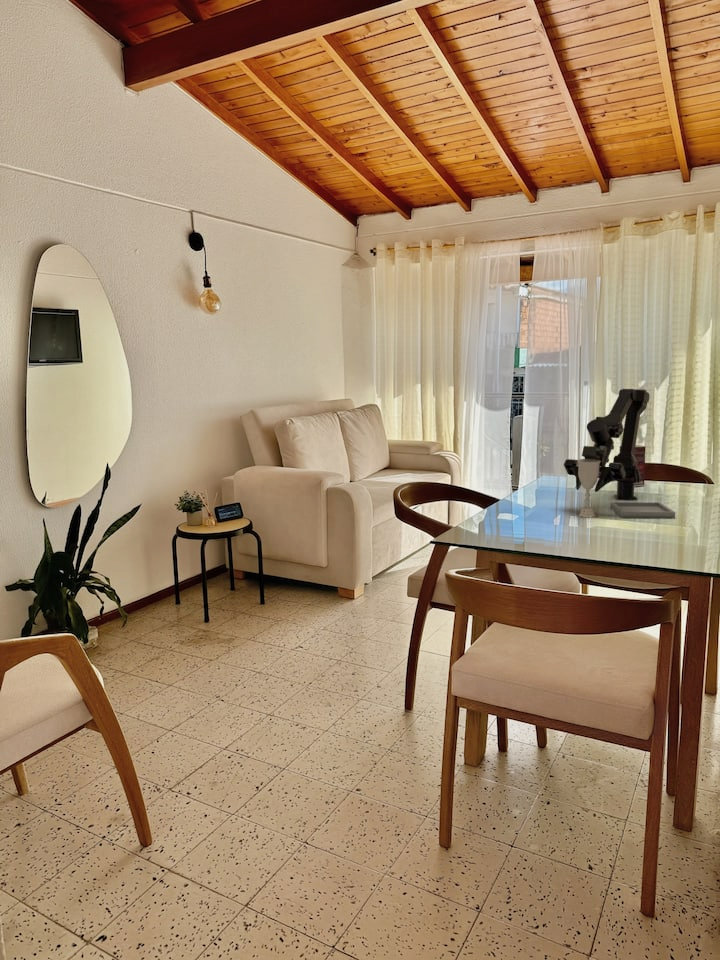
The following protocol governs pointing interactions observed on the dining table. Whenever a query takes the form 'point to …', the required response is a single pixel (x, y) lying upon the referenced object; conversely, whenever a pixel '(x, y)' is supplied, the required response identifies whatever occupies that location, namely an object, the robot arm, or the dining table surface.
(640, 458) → the supplement box
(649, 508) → the tray
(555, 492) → the dining table surface
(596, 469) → the chalice
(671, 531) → the dining table surface
